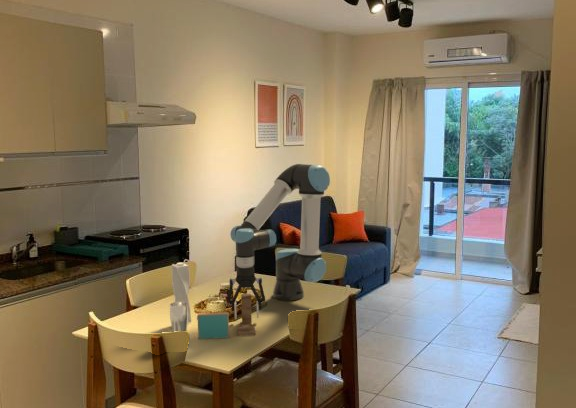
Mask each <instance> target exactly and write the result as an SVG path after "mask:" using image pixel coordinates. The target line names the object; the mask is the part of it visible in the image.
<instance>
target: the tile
mask: <svg viewBox="0 0 576 408" xmlns="http://www.w3.org/2000/svg"><path fill="white" fill-rule="evenodd" d="M229 320H230V318H229V312H227V311H226V312H223V311H221V312H220V311H219V312H198V313H197V334H198V335H197V336H198V340H206V339H208V340H209V339H210V340H211V339H229V338H230V329H229V328H230V323H229Z"/></svg>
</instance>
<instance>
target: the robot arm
mask: <svg viewBox="0 0 576 408" xmlns="http://www.w3.org/2000/svg"><path fill="white" fill-rule="evenodd" d="M330 180H331V178H330V174H329V171H328V170H327V169H326V167H324V166H323V165H318V164H303V163H295V164H293V165H291V166H289V167H287V168H286V169H284V171H282V172H281V173H280V174H279V175H278V176H277V178H276V179H275V180H274V181H273V182H274V183H273V185H272V186H271V188H270V189H269V190H268V191H267V193H266V194H265V195H264V196H263V198H262V199H261V200H260V201H259V203H258V204H257V205H256V206H255V207H254V209H253V210H252V211H251V212H250V214H249V215H248V216H247V217H246V218H245V220H244V221H243V222H242V223H241V225H235V226H233V227H232V228H231V230H230V239H231V240H232V241H233V242H234V243H235V255H236V257H235V260H236V261H235V262H236V264H235V265H236V277H235V278H229V290H228V295H227V301H226V302H227V303H228V304H231V312H234V319H235V320H237V316H238V315H237V313H238V312H237V301H236V300H237V298H238V297H239V295H240V294H239V293H240V292H241V289H245V288H246V289H249V288H250V290H251V291H252V293H253V296H254V297H255V299H256V300H257V301H256V318H257V319H260V318H259V317H260V313H259V311H261V310H262V302H265V301H266V296H265V293H264V287H263V283H262V282H263V278H262V277H256V276H255V275H256V273H255V251H256V250H261V249H268V248H270V247H273V246H275V245H276V243H277V234H276V233H275V231H274V230H273V229H270V228H269V229H261V227H263V225H264V224H265V222H267V220H268V219H269V217H271V215H272V214H273V213H274V212H275V210H276V209H277V208H278V207H279V205H280V204H281V203H282V202H283V200H284V199H285V198H286V197H287V195H288V196H289V195H291V193H293V191H295V190H298V195H299V196H300V197H301V213H300V214H301V215H300V216H301V217H300V219H301V220H300V244H299V247H300V248H286V249H281V250H278V251H277V252H276V253H275V277H276V279H275V284H274V287H273V289H272V290H273V291H272V297H273V298H274V299H276V300H278V301H279V300H280V301H296V300H301V299H303V298H304V297H305V291H304V288H303V284H302V282H301V280H303V281H306V282H309V283H317V282H319V281H320V280H321V279H322V278H323V277H324V276H325V274H326V273H327V272H326V270H327V262H326V260H325V259H324V258H322V257H323V256H322V253H323V252H322V251H321V250H320V248H319V247H320V223H321V221H320V219H321V218H320V217H321V198H322V197H323V196H324V195H325V191H326V190H328V187H329V186H330V183H331V181H330ZM235 282H236V283H237V284H238V286H237V288H236V291H235V293H234V295H233V297H232V293H233V288H234V285H235ZM255 282H256V283H257V284H258V288H259V291H260V295H259V294H258V291H257V289H256V288H255V286H254V284H255Z"/></svg>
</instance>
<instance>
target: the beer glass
mask: <svg viewBox="0 0 576 408" xmlns="http://www.w3.org/2000/svg"><path fill="white" fill-rule="evenodd" d="M169 319H170V324H171V325H170V326H171V329H172V332H173V331H187V330H188V325H187V323H188V308H187V303H186V302H182V301H178V302H175V301H174V302H171V303H169ZM187 332H188V331H187Z"/></svg>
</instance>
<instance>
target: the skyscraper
mask: <svg viewBox="0 0 576 408" xmlns="http://www.w3.org/2000/svg"><path fill="white" fill-rule="evenodd" d="M186 261H187V264H186V263H185V262H186ZM190 273H191V272H190V260H189V259H186V258H185V259H184V260H183V262H177V263H176V264H175V263H172V264H171V284H172V291H173V296H174V302H178V301H182V302H186V303H187V308H188V323H187V326H188V325H189V324H190V323H191V322H192V314H191V306H190V301H189V299H190V298H189V291H190V285H191V284H190V283H191V274H190Z"/></svg>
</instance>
